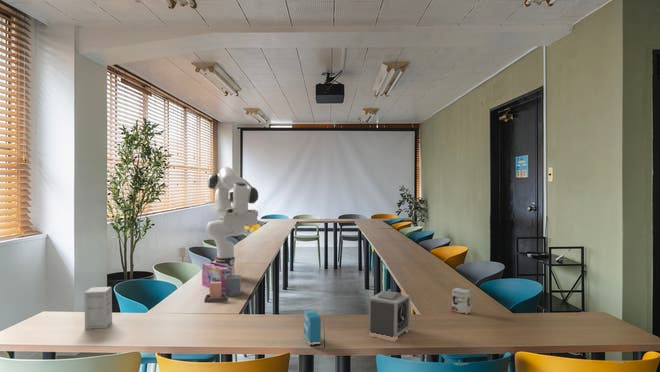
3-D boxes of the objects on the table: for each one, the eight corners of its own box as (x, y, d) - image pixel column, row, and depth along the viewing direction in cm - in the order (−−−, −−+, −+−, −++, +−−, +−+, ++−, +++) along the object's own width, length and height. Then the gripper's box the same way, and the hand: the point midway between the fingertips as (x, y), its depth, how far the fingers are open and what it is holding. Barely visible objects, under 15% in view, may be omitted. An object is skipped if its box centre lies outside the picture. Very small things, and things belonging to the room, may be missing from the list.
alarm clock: (394, 342, 195) (395, 299, 195) (366, 336, 202) (367, 294, 202) (410, 329, 211) (411, 290, 210) (384, 324, 218) (385, 286, 217)
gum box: (200, 284, 291) (200, 263, 291) (211, 282, 297) (211, 261, 296) (220, 291, 274) (220, 269, 274) (232, 289, 280) (232, 267, 279)
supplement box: (112, 321, 217) (112, 286, 217) (106, 328, 208) (106, 291, 208) (91, 322, 216) (90, 287, 215) (83, 329, 207) (83, 292, 206)
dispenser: (211, 296, 263) (211, 279, 262) (213, 292, 272) (213, 275, 272) (239, 296, 265) (240, 278, 265) (240, 291, 275) (240, 274, 274)
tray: (204, 302, 252) (204, 298, 252) (206, 297, 261) (206, 294, 261) (225, 301, 253) (225, 298, 253) (226, 297, 262) (226, 294, 262)
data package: (303, 337, 200) (303, 309, 200) (313, 336, 201) (313, 308, 201) (310, 347, 188) (310, 318, 188) (320, 346, 190) (321, 317, 189)
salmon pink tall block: (209, 299, 255) (209, 283, 255) (210, 297, 258) (210, 281, 258) (220, 299, 256) (220, 283, 256) (221, 297, 259) (221, 281, 259)
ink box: (451, 311, 240) (451, 289, 239) (455, 309, 243) (455, 287, 243) (466, 315, 234) (466, 292, 233) (470, 313, 237) (471, 290, 237)
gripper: (258, 209, 280) (258, 231, 281) (223, 209, 277) (223, 232, 278) (258, 210, 274) (257, 233, 274) (222, 210, 271) (222, 233, 272)
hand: (240, 232), depth 276 cm, fingers open, 8 cm apart
